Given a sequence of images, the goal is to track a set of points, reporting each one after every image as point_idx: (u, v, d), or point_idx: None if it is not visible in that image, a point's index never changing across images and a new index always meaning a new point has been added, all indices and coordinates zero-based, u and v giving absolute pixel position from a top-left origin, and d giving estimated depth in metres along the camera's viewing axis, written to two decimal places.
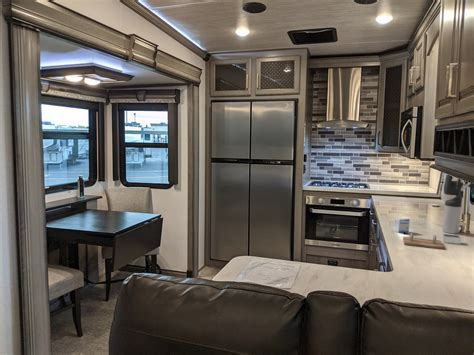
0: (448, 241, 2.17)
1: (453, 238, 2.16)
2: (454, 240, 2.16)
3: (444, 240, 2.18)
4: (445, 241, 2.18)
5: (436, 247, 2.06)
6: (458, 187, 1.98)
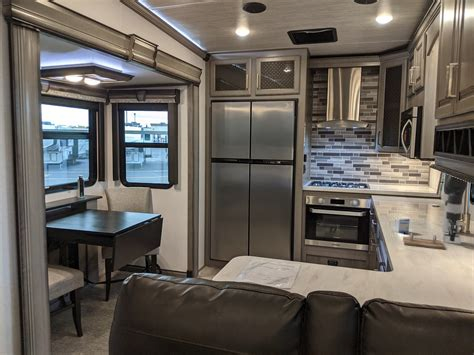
0: (448, 241, 2.17)
1: None
2: None
3: (444, 239, 2.18)
4: (445, 241, 2.18)
5: (436, 247, 2.06)
6: None
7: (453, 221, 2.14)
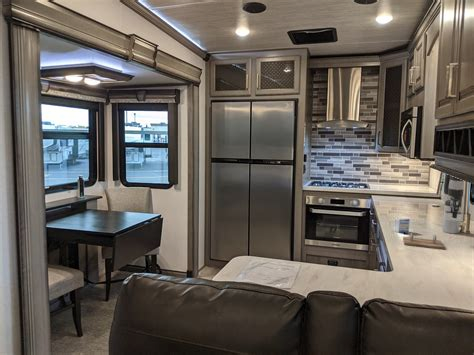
0: (450, 218, 2.16)
1: None
2: None
3: (446, 217, 2.17)
4: (447, 218, 2.17)
5: (436, 247, 2.06)
6: None
7: (455, 198, 2.12)
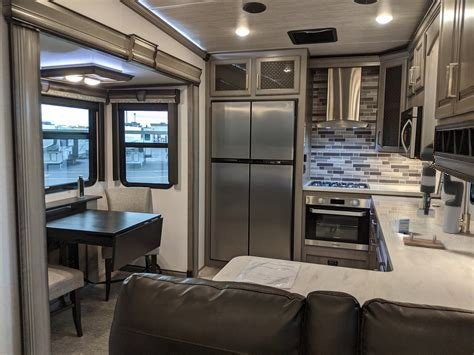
0: (422, 214, 2.11)
1: None
2: (428, 214, 2.09)
3: (418, 213, 2.12)
4: (419, 214, 2.11)
5: (436, 247, 2.06)
6: (429, 205, 2.06)
7: (427, 194, 2.07)
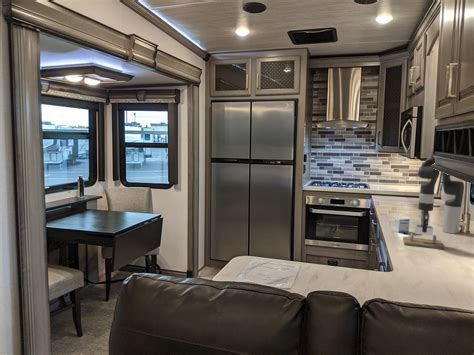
0: (420, 232, 2.12)
1: None
2: None
3: (416, 231, 2.13)
4: (417, 232, 2.13)
5: (436, 247, 2.06)
6: (427, 223, 2.08)
7: (425, 211, 2.09)
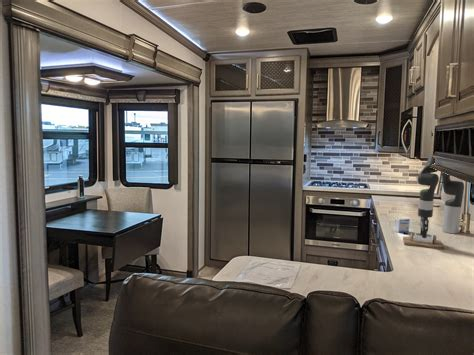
0: (419, 240, 2.13)
1: None
2: (426, 239, 2.11)
3: (415, 239, 2.13)
4: (416, 240, 2.13)
5: (436, 247, 2.06)
6: (427, 229, 2.07)
7: (424, 218, 2.09)
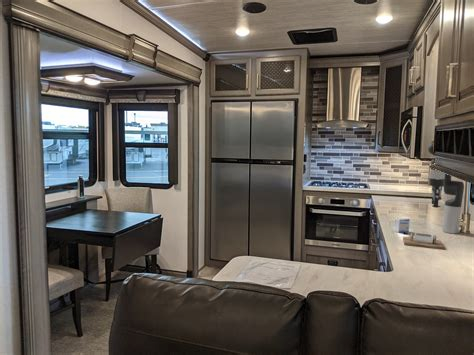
0: (419, 240, 2.13)
1: (424, 237, 2.11)
2: (426, 239, 2.11)
3: (415, 239, 2.13)
4: (416, 240, 2.13)
5: (436, 247, 2.06)
6: None
7: (436, 187, 2.09)
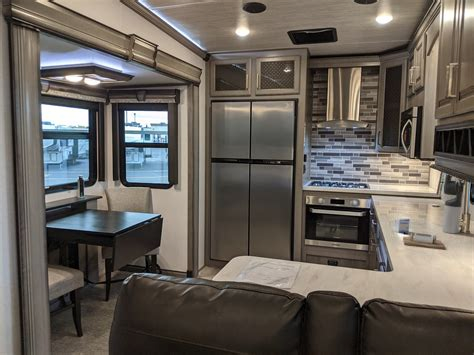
0: (419, 240, 2.13)
1: (424, 237, 2.11)
2: (426, 239, 2.11)
3: (415, 239, 2.13)
4: (416, 240, 2.13)
5: (436, 247, 2.06)
6: None
7: None
